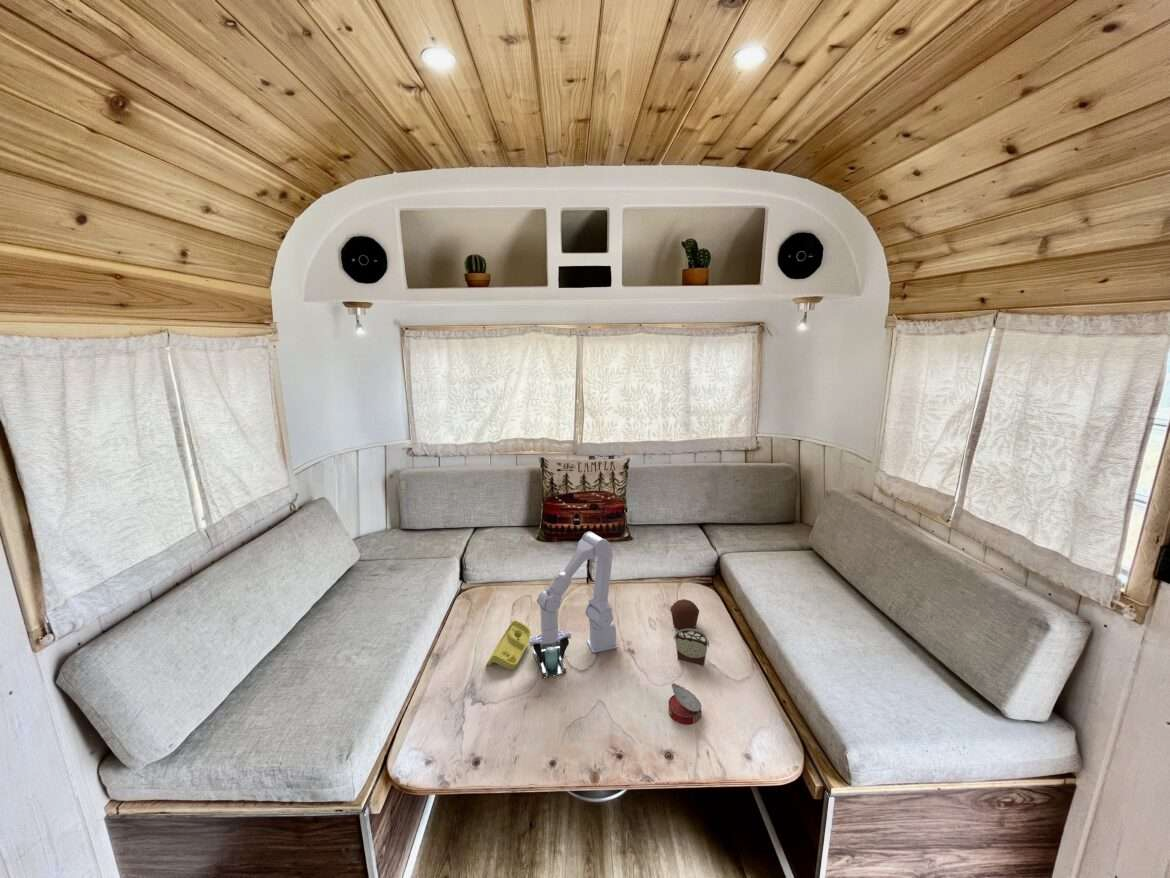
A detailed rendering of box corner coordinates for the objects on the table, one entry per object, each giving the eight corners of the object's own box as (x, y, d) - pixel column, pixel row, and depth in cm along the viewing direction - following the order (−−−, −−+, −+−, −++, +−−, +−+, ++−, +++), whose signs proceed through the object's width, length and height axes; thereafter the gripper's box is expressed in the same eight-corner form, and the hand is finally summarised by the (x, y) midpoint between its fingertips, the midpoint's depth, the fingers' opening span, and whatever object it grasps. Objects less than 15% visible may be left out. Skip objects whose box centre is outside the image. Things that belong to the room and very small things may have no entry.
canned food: (676, 713, 154) (681, 680, 157) (705, 725, 148) (710, 690, 150) (658, 717, 146) (663, 682, 149) (688, 730, 140) (693, 693, 142)
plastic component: (516, 666, 168) (490, 653, 169) (509, 681, 171) (484, 667, 172) (534, 629, 187) (511, 617, 187) (527, 643, 189) (505, 631, 190)
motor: (560, 646, 182) (559, 631, 181) (571, 672, 168) (570, 656, 167) (533, 651, 179) (532, 637, 178) (541, 678, 165) (541, 663, 164)
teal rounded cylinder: (557, 661, 173) (556, 644, 172) (558, 669, 169) (557, 652, 167) (545, 662, 173) (544, 645, 171) (545, 670, 168) (544, 653, 167)
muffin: (697, 636, 186) (697, 612, 184) (668, 631, 190) (668, 608, 188) (700, 619, 197) (700, 596, 195) (672, 615, 201) (673, 592, 199)
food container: (711, 657, 174) (712, 632, 172) (708, 667, 168) (709, 642, 166) (677, 648, 179) (678, 624, 177) (673, 658, 173) (673, 633, 171)
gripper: (566, 614, 173) (568, 648, 176) (526, 622, 169) (528, 656, 172) (572, 625, 167) (573, 660, 170) (530, 633, 163) (532, 669, 166)
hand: (551, 659), depth 170 cm, fingers open, 7 cm apart
